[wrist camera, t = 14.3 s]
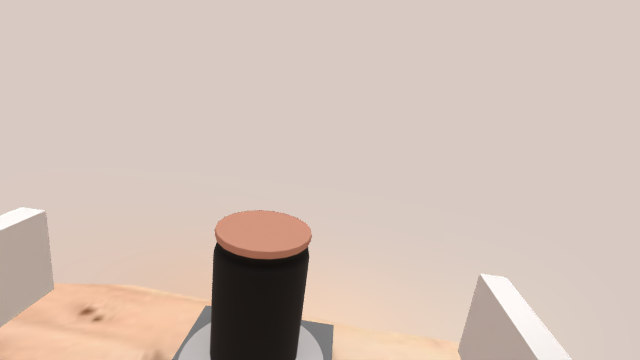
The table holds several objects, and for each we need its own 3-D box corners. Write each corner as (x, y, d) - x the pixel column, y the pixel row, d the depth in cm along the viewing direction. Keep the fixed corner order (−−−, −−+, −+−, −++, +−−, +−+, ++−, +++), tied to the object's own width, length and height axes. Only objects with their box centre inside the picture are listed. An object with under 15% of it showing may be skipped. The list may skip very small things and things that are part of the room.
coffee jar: (273, 320, 52) (285, 206, 47) (311, 374, 43) (330, 242, 38) (199, 343, 46) (202, 215, 41) (225, 410, 37) (234, 259, 32)
